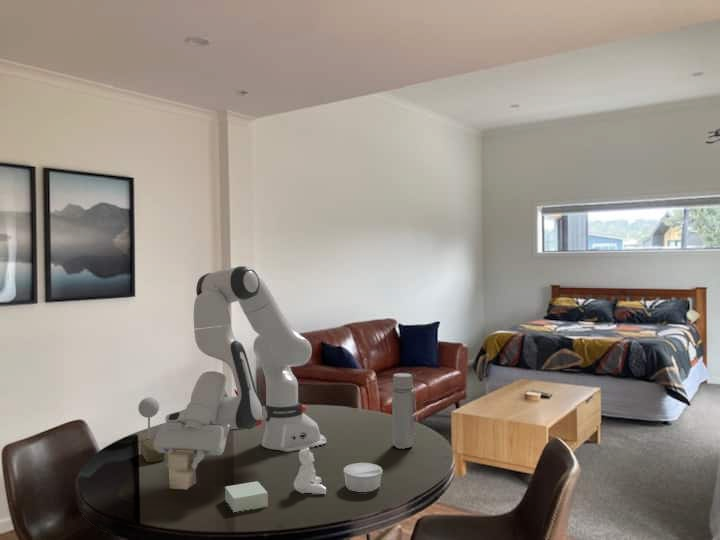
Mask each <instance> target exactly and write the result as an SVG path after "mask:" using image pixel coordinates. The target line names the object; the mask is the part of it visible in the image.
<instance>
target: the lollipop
mask: <svg viewBox="0 0 720 540" xmlns="http://www.w3.org/2000/svg"><path fill="white" fill-rule="evenodd" d="M159 411H160V403H159V402H158V400H157V399H156V398H154V397H145V398H143V399H142V400H141V401H140V402H139V404H138V413H139V415H140V416H142V417H144V418H147V440H151V422H150V421H151V418H153V417H154V416H156V415H157V414H158V412H159Z"/></svg>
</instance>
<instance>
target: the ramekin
mask: <svg viewBox="0 0 720 540" xmlns="http://www.w3.org/2000/svg"><path fill="white" fill-rule="evenodd" d="M382 475H383V468H382V467H381V466H380V465H378V464H375V463H371V462H356V463H351V464H348V465H345V467H344V468H343V476H344V481H345V486H346V488H347V490H349V491H350V490H352V491H357V492H367V491H373V490H375V489H377V488H378V487H379V488H380V486H381V480H382ZM379 488H378V489H379ZM378 489H377V490H378ZM352 491H351V492H352Z"/></svg>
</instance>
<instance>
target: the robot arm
mask: <svg viewBox="0 0 720 540" xmlns="http://www.w3.org/2000/svg"><path fill="white" fill-rule="evenodd" d="M195 291H196V297H195V300H194V302H193V330H194V331H193V333H194V339H195V344H196V346H197V348H198V349H199V350H200V352H202V353H203V354H204V355H206V356H208V357H210V358H214V359H216V360H219V361H221V362H223V363H225V364H226V365H227V366H229V369H230V370H231V373H232V376H233V380H234V383H235V387H236V388H235V389H236V391H237V392H238V396H237V395H229V396H228V394H227V390H226V384H227V376H226V375H225V374H223V373H221V372H218V371H216V370H215V371H206V372H203V373H201V375H200V376H199V377H198V379H197V381H196V383H195V385H194V387H193V390H192V391H191V394H190V401H189V402H188V404H187V405H186V407H185V409H182V410H180V411H176V412H172V413H169V414H167V415H166V416H165V419H164V420H165V423H163V424H162V425H161V427H160V428H159V429H158V432H157V434H156V437H155V438H154V439H155V441H154V447H155V449H156V450H157V451H158V452H159V453H165V454H167V456H168V455H169V454H170V453H172V452H174V451H176V450H177V449H185V450H195V459H194V460H190V464H189V468H190V469H197V467H198V464H199V463H200V462H201V461H202V460H204V459H205V456H220V455H222V454H223V453H224V451H225V448H226V442H227V437H228V435H229V433H230V430H232V429H236V430H237V429H239V430H240V429H241V430H253V428H255V427H257V426H256V425H257V424H258V422H259V421H260V420H261V418H262V415H263V412H264V419H265V426H264V427H265V428H264V432H263V438H262V442H261V446H262V447H263V448H266V449H269V450H276V451H277V450H278V451H282V452H287V453H288V452H294V451H300V450H303V449H304V448H309V449H311V448H315V446H317V447H320V446H319V445H322V446H324V445H323V444H325V443H326V444H327V439H326V437H325V436H324V435H323V434H321V433H320V429H319V425H318V423H317V422H316V421H315V420H314V419H312V418H311V417H310V416H308V415H307V414H305V412H307V411H308V407H307V406H306V405H304V404H303V403H300V402H299V382H298V380H297V377H296V376H295V374H294V373H293V371H292V368H291V367H302V366H304V365H307V363H308V362H309V361H310V360H311V357H312V353H313V348H312V344H311V342H310V340H308V339H307V338H305V337H304V336H302V334H300V332H298V331H297V329H295V327H293V325H292V324H291V323H290V321H289V320H288V319H287V318H286V317H285V315H284V314H283V313H282V310H281V309H280V307H279V306H278V304H277V301H276V299H275V298H274V296H273V294H272V292H271V291H270V288H269V287H268V286H267V284H266V283H265V282H264V280H263V279H262V278H261V277H260V276H259V274H258V273H256V271H255V270H254V269H253V268H251V267H249V266H246V265H245V266H242V265H239V266H236V267H227V268H222V269H220V270H216V271H214V272H208V273H206V274H204V275H202V276H200V278H199V279H198V281H197V283H196V289H195ZM235 302H238V304H239V305H240V308H241V310H242V312H243V314H244V315H245V317H246V319H247V321H248V323H249V324H250V326H251V328H252V330H253V331H254V332H255V333H256V334H258V335H257V337H255V338H254V341H253V352H254V354H255V356H256V357H257V359H259V360H258V361H259V362H260V365H261V367H262V371H263V375H264V381H265V392H266V394H265V398H266V399H265V401H266V403H265V405H264V411H263V405H262V401H261V400H260V398H259V395H258V392H257V390H256V389H257V388H256V386H255V382H254V379H253V375H252V371H251V367H250V363H249V359H248V357H247V356H248V355H247V354H246V353H247V352H246V350H245V348H244V346H243V344H242V343H241V342H240V341H238V340H237V338H236V337H235V335H234V331H233V328H232V322H231V316H230V311H229V307H230V305H231V304H233V303H235ZM326 444H325V445H326ZM310 447H311V448H310ZM166 466H167V468H169V460H167V464H166Z"/></svg>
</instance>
